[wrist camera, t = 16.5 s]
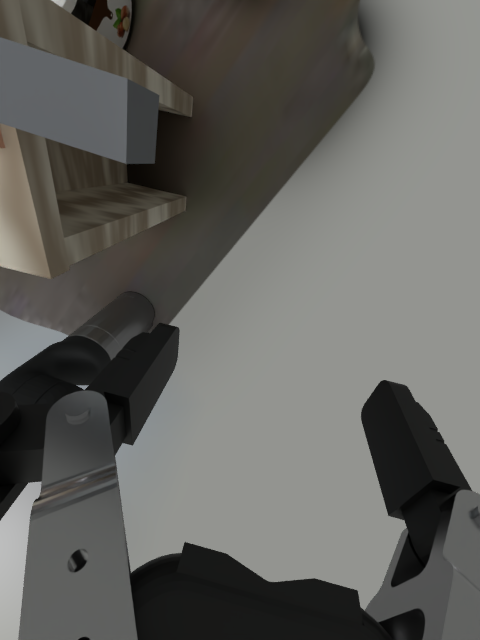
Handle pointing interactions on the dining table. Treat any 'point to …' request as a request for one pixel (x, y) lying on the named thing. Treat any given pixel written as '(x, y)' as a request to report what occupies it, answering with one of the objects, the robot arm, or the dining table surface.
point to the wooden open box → (72, 158)
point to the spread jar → (103, 17)
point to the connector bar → (77, 104)
